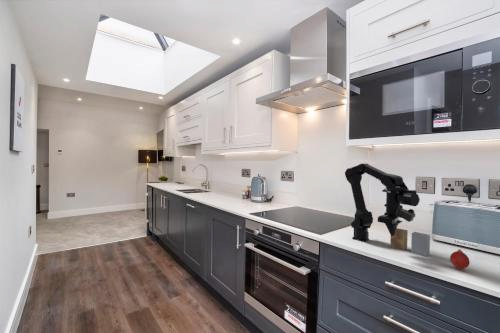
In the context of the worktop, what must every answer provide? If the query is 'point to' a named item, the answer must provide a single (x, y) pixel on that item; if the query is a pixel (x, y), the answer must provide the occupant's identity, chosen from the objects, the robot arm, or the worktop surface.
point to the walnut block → (399, 239)
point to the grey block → (420, 244)
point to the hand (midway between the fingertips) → (392, 235)
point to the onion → (459, 260)
